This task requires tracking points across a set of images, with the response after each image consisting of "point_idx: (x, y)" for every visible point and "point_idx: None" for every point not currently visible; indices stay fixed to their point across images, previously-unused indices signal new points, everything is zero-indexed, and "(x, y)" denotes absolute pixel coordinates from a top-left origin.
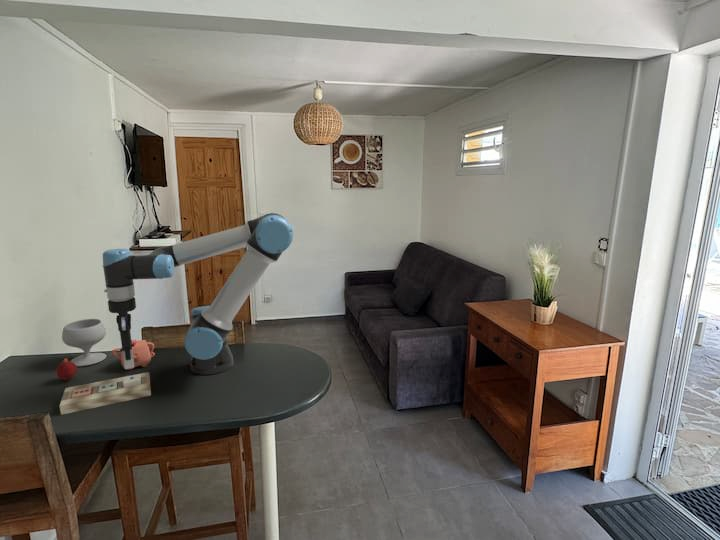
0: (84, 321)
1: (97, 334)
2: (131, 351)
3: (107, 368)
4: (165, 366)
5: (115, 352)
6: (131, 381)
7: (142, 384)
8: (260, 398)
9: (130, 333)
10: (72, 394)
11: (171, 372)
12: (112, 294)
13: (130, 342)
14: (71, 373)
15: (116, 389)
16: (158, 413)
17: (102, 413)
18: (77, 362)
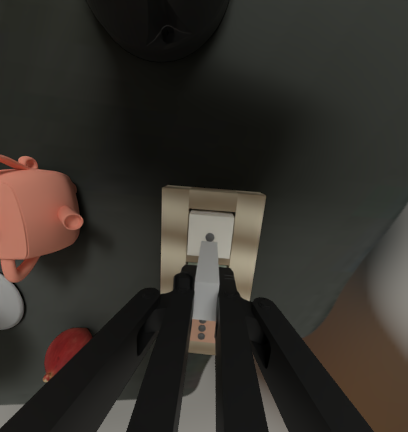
0: None
1: None
2: (218, 280)
3: (52, 266)
4: (96, 135)
5: (22, 271)
6: (230, 239)
7: (237, 211)
8: None
9: (104, 329)
10: (204, 341)
11: (147, 125)
12: None
13: (281, 336)
14: (87, 341)
15: (226, 267)
16: (364, 186)
17: (279, 284)
18: (3, 319)
